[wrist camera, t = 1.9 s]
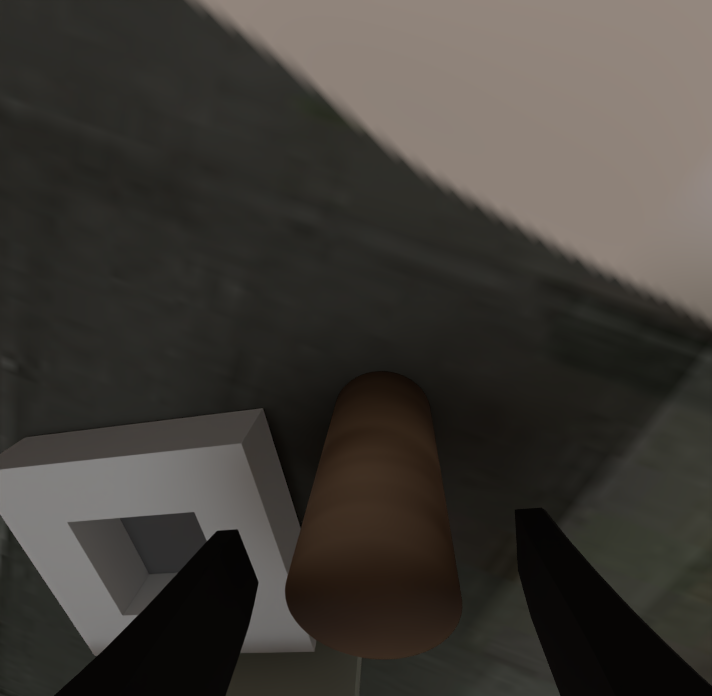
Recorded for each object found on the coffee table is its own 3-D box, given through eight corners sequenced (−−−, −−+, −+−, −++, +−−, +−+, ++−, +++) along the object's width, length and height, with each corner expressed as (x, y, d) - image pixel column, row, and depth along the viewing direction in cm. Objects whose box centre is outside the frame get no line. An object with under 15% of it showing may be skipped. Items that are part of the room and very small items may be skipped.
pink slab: (362, 643, 22) (349, 833, 15) (127, 648, 24) (29, 815, 18) (347, 586, 20) (324, 772, 14) (95, 597, 22) (-25, 761, 16)
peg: (435, 449, 16) (469, 657, 9) (344, 458, 17) (307, 660, 10) (424, 365, 15) (453, 531, 8) (325, 378, 16) (264, 543, 8)
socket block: (323, 600, 21) (314, 651, 18) (125, 608, 23) (95, 655, 20) (262, 408, 16) (241, 443, 14) (25, 437, 18) (-28, 472, 16)
